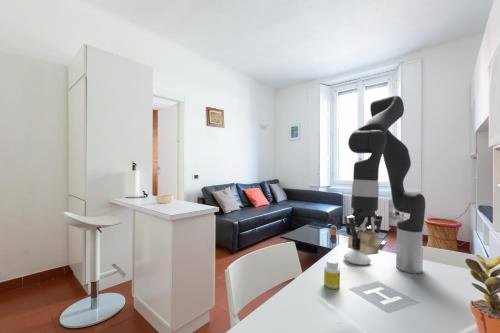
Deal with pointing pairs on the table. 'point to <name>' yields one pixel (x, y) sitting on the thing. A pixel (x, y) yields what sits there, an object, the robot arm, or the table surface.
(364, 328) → the table surface
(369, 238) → the oak block
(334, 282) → the supplement bottle
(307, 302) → the table surface
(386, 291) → the letter board
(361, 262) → the flower in vase
